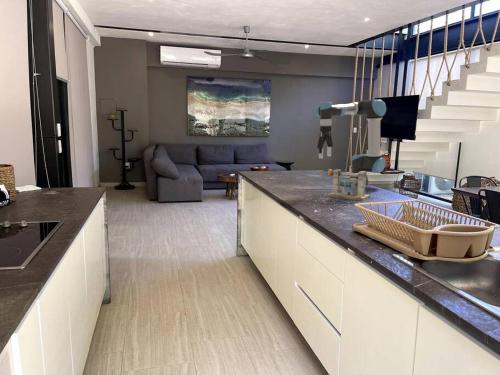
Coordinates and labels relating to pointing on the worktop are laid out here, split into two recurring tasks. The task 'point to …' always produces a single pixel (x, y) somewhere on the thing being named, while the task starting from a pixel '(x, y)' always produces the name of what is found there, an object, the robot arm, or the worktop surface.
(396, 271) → the worktop surface
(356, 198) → the cradle
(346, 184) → the light bulb box
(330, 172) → the lock shaft
